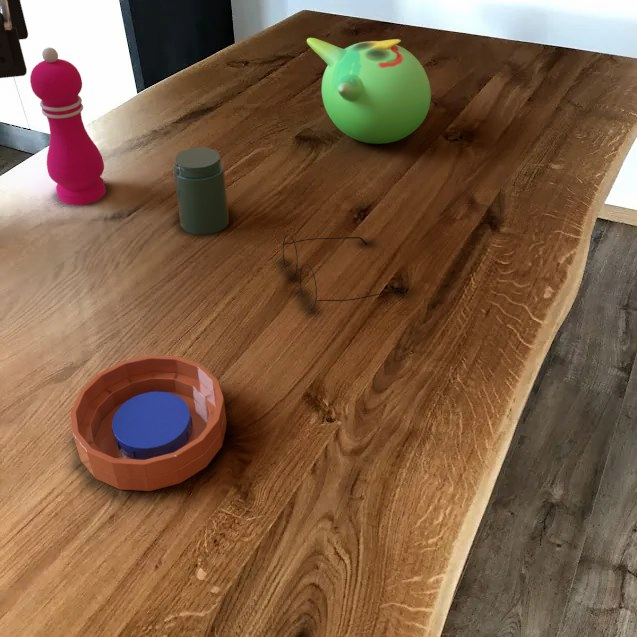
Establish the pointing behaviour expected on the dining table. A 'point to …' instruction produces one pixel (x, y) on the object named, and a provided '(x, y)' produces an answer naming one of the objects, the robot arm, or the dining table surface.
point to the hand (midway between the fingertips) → (10, 56)
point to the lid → (152, 425)
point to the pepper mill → (67, 132)
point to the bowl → (134, 379)
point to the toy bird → (373, 89)
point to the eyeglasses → (313, 273)
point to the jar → (201, 190)
